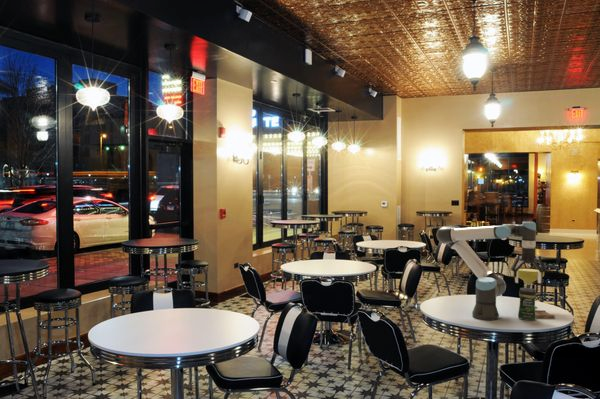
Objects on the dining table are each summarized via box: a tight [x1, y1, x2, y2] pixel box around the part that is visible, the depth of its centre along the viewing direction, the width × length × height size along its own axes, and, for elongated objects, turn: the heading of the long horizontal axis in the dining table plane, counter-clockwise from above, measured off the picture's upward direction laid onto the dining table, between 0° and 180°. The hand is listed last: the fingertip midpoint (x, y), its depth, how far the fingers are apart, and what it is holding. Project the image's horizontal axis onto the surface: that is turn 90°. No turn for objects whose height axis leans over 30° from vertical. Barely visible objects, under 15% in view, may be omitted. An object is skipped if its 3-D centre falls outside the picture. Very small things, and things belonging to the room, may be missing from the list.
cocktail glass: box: [517, 267, 545, 310], centre depth 336 cm, size 18×18×25 cm
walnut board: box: [535, 309, 556, 319], centre depth 313 cm, size 13×13×2 cm
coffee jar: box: [517, 287, 537, 321], centre depth 304 cm, size 10×8×19 cm
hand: (527, 282), depth 304 cm, fingers open, 13 cm apart
